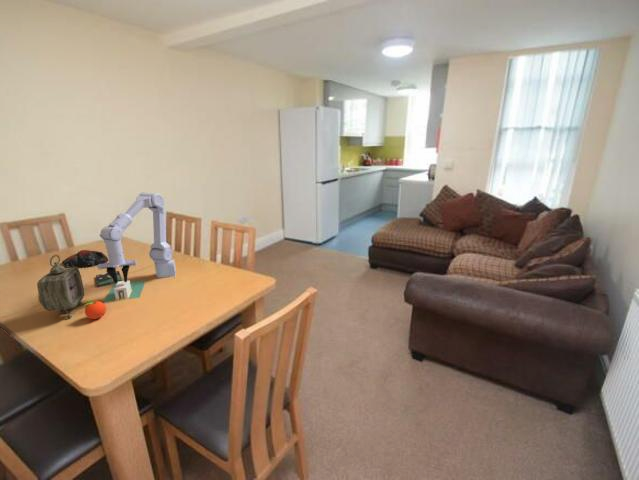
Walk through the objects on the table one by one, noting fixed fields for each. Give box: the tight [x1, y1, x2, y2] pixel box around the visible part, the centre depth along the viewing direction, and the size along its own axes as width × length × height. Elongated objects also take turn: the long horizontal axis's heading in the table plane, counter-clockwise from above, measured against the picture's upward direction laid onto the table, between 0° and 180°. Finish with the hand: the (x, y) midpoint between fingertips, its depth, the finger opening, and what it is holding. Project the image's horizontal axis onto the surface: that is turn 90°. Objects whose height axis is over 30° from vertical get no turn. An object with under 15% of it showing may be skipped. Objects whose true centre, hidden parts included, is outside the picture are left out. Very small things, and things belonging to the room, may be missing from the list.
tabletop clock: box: [36, 254, 85, 319], centre depth 125 cm, size 14×9×25 cm, turn 17°
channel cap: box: [114, 279, 131, 300], centre depth 140 cm, size 5×8×5 cm, turn 21°
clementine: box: [81, 300, 107, 320], centre depth 123 cm, size 8×7×7 cm
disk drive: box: [95, 270, 123, 288], centre depth 157 cm, size 10×3×15 cm
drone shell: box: [61, 249, 109, 269], centre depth 181 cm, size 21×20×8 cm
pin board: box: [102, 280, 146, 304], centre depth 145 cm, size 14×19×4 cm
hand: (121, 282), depth 139 cm, fingers open, 3 cm apart
